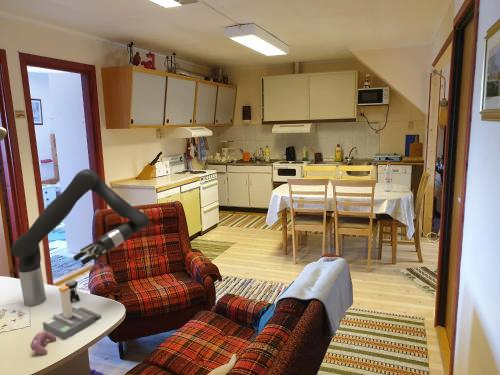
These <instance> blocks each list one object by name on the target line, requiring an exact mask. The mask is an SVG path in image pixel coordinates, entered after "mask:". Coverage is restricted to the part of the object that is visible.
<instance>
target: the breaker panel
mask: <svg viewBox="0 0 500 375" xmlns="http://www.w3.org/2000/svg"><path fill="white" fill-rule="evenodd" d="M71 308H72V314H73V319H71V320H68V319H66V318H64V316H63V312H61V313H59V314H58V313H55V314H53V315H52V316H53V317H51V318H49V319H47V320H45V321H43V322H42V328H43V330H44V331H47V332H48V333H50V334H52V335H54V336H55V337H58V338H60V339H62V340H64V341H65V340H67V339H68V338H70V337H72V336H73V335H75V334H77V333H79V332H81V331H83V330H84V329H86V328H88V327H89V326H91V325H93V324H95V323H96V321H95V318H94V316H93V315H90V314H88V313H86V312H83V311H81V310H79V308H76V307H74V306H72V307H71Z"/></svg>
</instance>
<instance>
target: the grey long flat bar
mask: <svg viewBox="0 0 500 375" xmlns="http://www.w3.org/2000/svg"><path fill="white" fill-rule="evenodd" d="M78 309H79V310H81V311H83V312H86V313H88V314H90V315H93V316H94V318H95V322H97V321H99V320H100V319H102V314H99V313H96V312H94V311H92V310H89V309H87V308H85V307H82V306H81V307H78Z"/></svg>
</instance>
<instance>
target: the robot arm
mask: <svg viewBox="0 0 500 375" xmlns="http://www.w3.org/2000/svg"><path fill="white" fill-rule="evenodd" d="M89 191H93V192H94V193H95V194H96V195H98V196H99V197H100V198H101V199H102V200H103V201H104V202H105V204H106V205H107V206H108V207H109V208H110V209H111V210H112V211H113V212H115V214H117V216H120V217H121V218H123V219H127V220H129V221H127V222H124V223H123V224H121V225H119V226H117V227H116V228H115V229H113V230H109V231H108V232H107V233H105V234H104V235H102V236H100V237H99V238H97V239H96V243H94V244H93V242H92V243H89V244H88V245H85V246H84V247H82V248H81V249H80V252H78V253H77V254H76V255H73V256H72V258H73V260H74V261H75V262H77V261H79V260H80V262H81V264H82V265H83V266H84V265H86V264H88V263H89V262H91V261H97V260H99V259H100V258H102V257H103V256H104V255H107V253H109V252H110V251H112V250H114V249H115V248H117V247H118V246H119V245H121V244H122V243H123V242H125V241H126V240H128V239H130V238H131V237H133V235H135V234H137V233H139V232H140V231H142V230H144V229H145V228H146V227H148V225H149V224H150V219H149V216H148V215H147V214H146V213H144V212H143V211H142V210H140V209H137V208H136V207H133V205H131V204H130V203H129V202H128V201H127V200H126V199H124V198H123V197H122V196H120V195H119V194H118V193H116V192H115V191H114V190H113V189H111V187H110V186H109V185H108V184H107V183H106V182H104V180H103V179H102V178H101V176H99V175H98V174H97V172H96V171H95V170H93V169H90V168H84V169H82V170H80V171H78V172H77V173H76V174H75V175H74V177H73V178H72V180H71V181H70V183H69V184H68V185H67V187H66V188H65V189H64V190H63V191H62V192H61V193H59V195H58V196H57V197H55V198H54V199H53V200H52V201H51V202H50V203H49V204H48V205H47V206H46V207H45V208H44V210H42V212H41V213H40V214H39V216H38V217H37V218H36V219H35V221H34V222H33V223H32V225H31V226H30V228H29V229H27V231H26V232H25V233H24V234H22V235H21V236H19V237H18V238H17V239H16V240H14V242H13V243H12V246H11V253H12V255H13V256H14V257H15V258H16V259H18V263H17V270H18V271H17V272H18V277H19V282H20V288H21V292H22V298H23V304H24V306H26V307H34V306H38V305H41V304H43V303H44V302H46V300H47V295H46V289H45V284H44V278H43V271H42V264H41V261H42V260H41V259H42V256H41V247H40V243H41V242H42V240H44V239H45V238H46V237H47V236H48V235H49V234H50V233H52V232H53V231H54V230H55V229H56V228H57V227H58V226H59V225H60V224H62V223H63V221H64V220H65V219H66V218H67V217H68V215H69V214H70V213H71V212H72V210H73V209H74V207H75V205H76V204H77V203H78V201H80V199H81V198H82V197H83V196H84V195H86V194H87V193H88V192H89ZM85 256H86V257H85ZM82 258H83V259H82Z"/></svg>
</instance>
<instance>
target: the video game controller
mask: <svg viewBox="0 0 500 375" xmlns="http://www.w3.org/2000/svg"><path fill="white" fill-rule="evenodd" d="M56 340H57V336H56V335H54V334H52V333H50V332H49V331H47V330H41V331H40V332H38V333H36V334H35V336H34V337H33V339H32V342H30V345H29V346H30V349H31V350H32V351H34V352H36V353H38V354H39V355H47V354H48V351H47V348H44V347H45V346H47V344H48V341H50V342H55V341H56Z"/></svg>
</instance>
